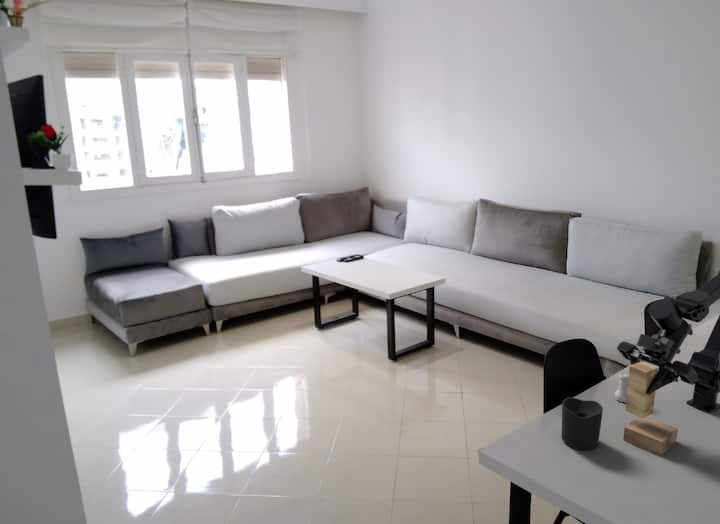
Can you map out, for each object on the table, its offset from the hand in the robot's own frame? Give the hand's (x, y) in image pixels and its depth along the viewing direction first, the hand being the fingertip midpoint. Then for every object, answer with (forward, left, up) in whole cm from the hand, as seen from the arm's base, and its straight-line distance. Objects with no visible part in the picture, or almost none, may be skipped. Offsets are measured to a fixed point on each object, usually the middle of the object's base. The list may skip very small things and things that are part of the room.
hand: (638, 389), depth 136 cm
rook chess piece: (-15, -14, -14) cm, 25 cm away
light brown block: (-2, +3, -14) cm, 14 cm away
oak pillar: (-1, 0, -7) cm, 7 cm away
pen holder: (+13, -6, -14) cm, 20 cm away
